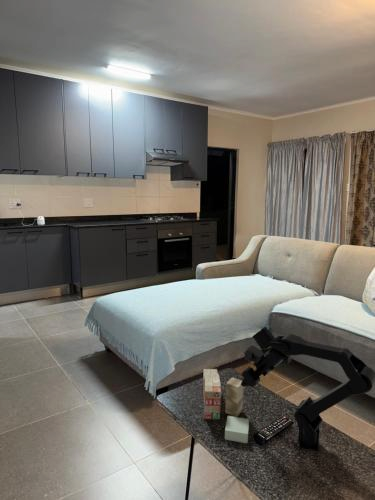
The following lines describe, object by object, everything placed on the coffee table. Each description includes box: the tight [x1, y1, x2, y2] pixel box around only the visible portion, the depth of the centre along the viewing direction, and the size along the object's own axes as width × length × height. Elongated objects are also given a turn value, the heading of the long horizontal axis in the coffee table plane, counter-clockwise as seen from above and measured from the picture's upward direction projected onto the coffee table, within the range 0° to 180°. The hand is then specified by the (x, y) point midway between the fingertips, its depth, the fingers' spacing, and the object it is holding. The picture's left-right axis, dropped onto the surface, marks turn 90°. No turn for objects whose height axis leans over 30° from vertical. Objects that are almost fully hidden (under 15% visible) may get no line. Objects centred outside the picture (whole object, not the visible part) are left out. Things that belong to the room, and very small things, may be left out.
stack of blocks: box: [202, 368, 222, 420], centre depth 143 cm, size 21×6×12 cm, turn 179°
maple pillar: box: [224, 377, 244, 417], centre depth 137 cm, size 5×5×13 cm
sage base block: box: [224, 415, 250, 444], centre depth 126 cm, size 8×8×4 cm
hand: (247, 380), depth 135 cm, fingers open, 9 cm apart
